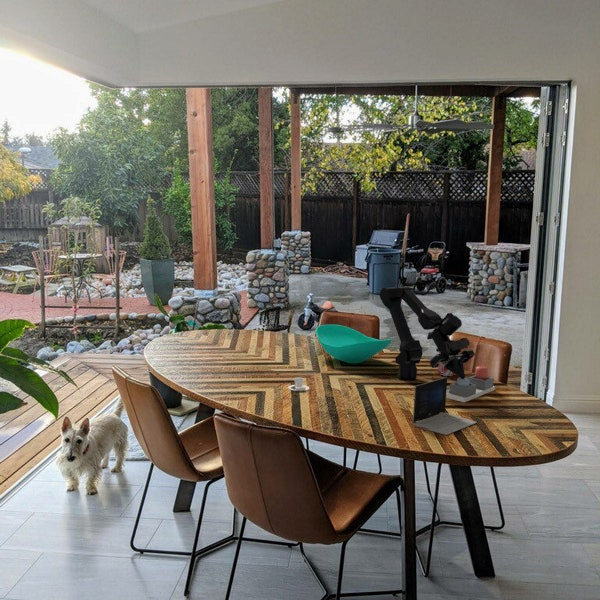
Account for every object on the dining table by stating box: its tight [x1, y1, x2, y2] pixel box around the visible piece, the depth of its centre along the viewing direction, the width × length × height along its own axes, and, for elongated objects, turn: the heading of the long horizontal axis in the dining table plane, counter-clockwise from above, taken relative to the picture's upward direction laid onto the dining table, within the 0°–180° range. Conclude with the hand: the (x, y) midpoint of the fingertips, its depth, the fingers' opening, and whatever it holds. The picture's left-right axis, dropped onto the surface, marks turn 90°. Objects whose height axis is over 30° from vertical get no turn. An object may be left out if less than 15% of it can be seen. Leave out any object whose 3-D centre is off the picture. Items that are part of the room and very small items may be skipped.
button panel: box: [446, 374, 496, 403], centre depth 242 cm, size 10×24×5 cm, turn 138°
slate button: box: [456, 376, 470, 387], centre depth 236 cm, size 4×4×5 cm
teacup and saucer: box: [287, 376, 310, 392], centre depth 240 cm, size 9×8×4 cm
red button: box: [474, 365, 489, 380], centre depth 246 cm, size 4×4×5 cm
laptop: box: [412, 376, 478, 436], centre depth 205 cm, size 18×12×13 cm
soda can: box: [437, 352, 455, 377], centre depth 267 cm, size 7×7×12 cm
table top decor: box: [315, 323, 393, 364], centre depth 284 cm, size 40×28×13 cm
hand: (463, 378), depth 235 cm, fingers closed, pressing on slate button
